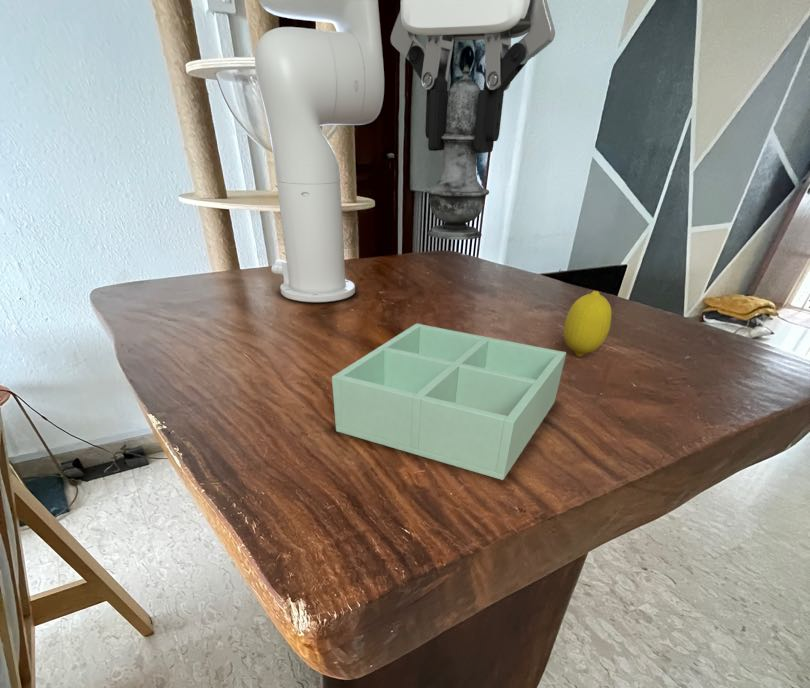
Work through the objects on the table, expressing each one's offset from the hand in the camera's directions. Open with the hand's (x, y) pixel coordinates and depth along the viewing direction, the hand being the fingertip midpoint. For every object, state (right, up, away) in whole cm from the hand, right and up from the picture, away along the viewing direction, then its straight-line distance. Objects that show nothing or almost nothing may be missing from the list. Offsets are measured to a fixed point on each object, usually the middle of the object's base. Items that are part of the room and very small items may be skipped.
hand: (460, 148), depth 44 cm
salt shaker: (0, -5, +5) cm, 7 cm away
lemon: (+18, -11, +21) cm, 30 cm away
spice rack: (0, -22, +8) cm, 23 cm away
